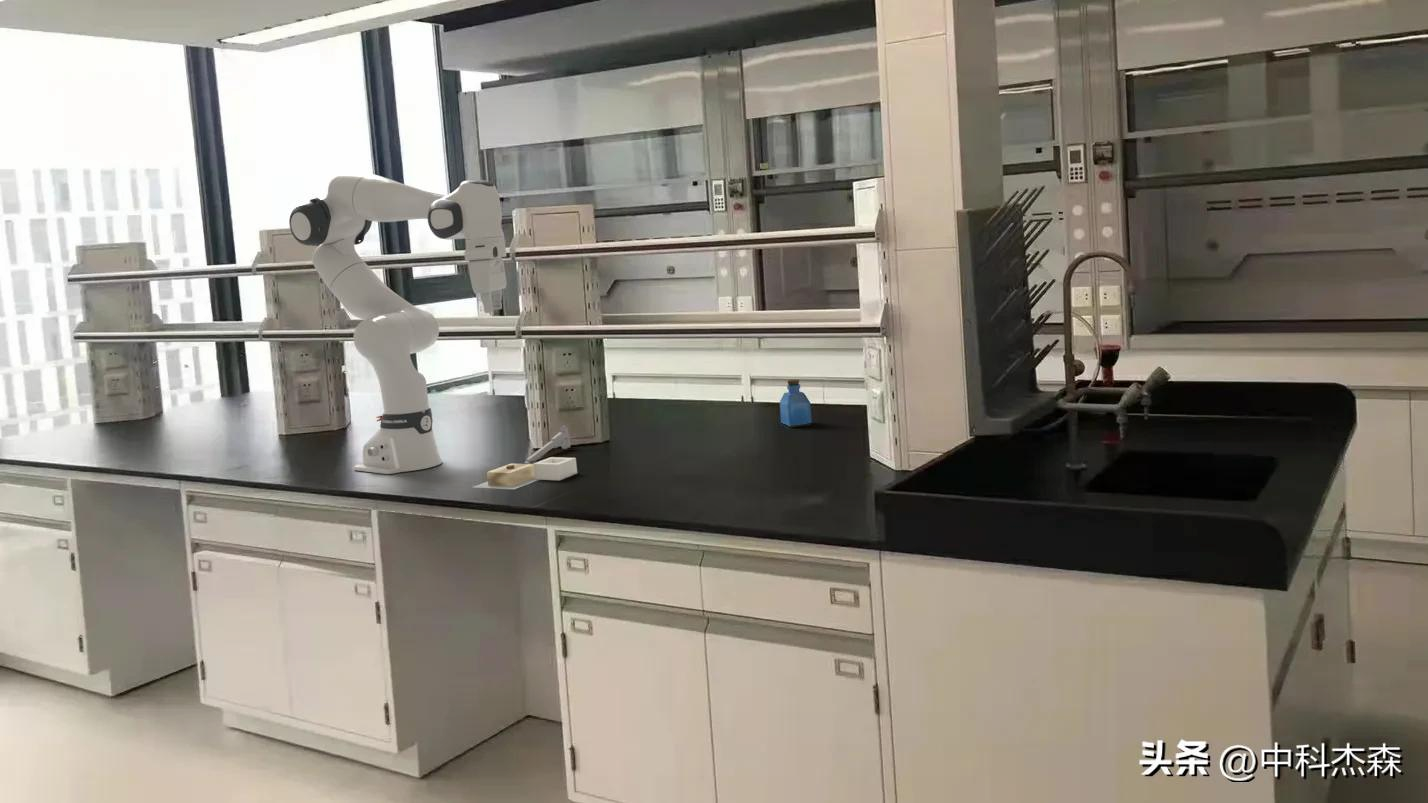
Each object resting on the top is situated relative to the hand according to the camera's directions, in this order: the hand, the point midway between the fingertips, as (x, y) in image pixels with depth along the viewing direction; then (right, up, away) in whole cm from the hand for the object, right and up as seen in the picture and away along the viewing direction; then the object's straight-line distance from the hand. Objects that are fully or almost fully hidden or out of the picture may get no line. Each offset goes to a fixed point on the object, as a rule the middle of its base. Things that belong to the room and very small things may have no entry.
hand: (493, 311), depth 276 cm
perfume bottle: (+73, -27, +40) cm, 88 cm away
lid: (+5, -39, -4) cm, 40 cm away
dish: (+15, -38, -3) cm, 41 cm away
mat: (+5, -39, -4) cm, 40 cm away
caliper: (+9, -35, +25) cm, 44 cm away
